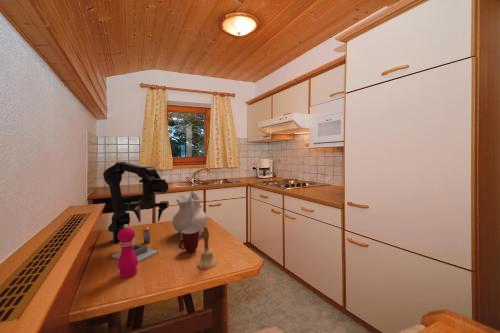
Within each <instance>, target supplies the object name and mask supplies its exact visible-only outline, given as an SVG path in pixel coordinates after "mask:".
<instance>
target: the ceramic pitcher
mask: <svg viewBox="0 0 500 333" xmlns="http://www.w3.org/2000/svg"><path fill="white" fill-rule="evenodd" d="M176 202H177V204H178V206H179V210H178V211H177V212H176V213H175V215H173V217H172V225H173V228H174V230H175V231H177V233H179V234H180V238H182V231H183V230H185V229H190V228H196V229H198V230H199V237H200V236H202V232H201V231H203V230H204V227H207V226H206V225H207V223H208V217H207V216H208V215H207V214H208V213H206V212H205V211H203V210H202V209H201V206H200V205H201V202H202V197H201V195H200V196H199V194H198V192H196V191H191V192H190V194H186V193H183V192H182V193H180V194H179V196H178V197H177V198H176Z"/></svg>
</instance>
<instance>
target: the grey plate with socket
mask: <svg viewBox="0 0 500 333" xmlns="http://www.w3.org/2000/svg"><path fill="white" fill-rule="evenodd" d="M133 250H134V253H135V255H136V256H137V259H138V264H139V263H141V262H143V261H145V260H148V259H149V258H151V257H153V256H155V255H157V254H159V251H158V250H155V249H151V248H148V246H147V245H142V244H139V243H136V244H133ZM120 255H121V251H119V252H117V253H114V254H112V258H114V259H117V260H119V258H120Z"/></svg>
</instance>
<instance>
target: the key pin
mask: <svg viewBox="0 0 500 333" xmlns="http://www.w3.org/2000/svg"><path fill="white" fill-rule="evenodd" d="M142 229H143V230H142V233H143V244H144V245H149V244H150V243H151V229H150V227H149V226H146V227H143V228H142Z"/></svg>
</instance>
